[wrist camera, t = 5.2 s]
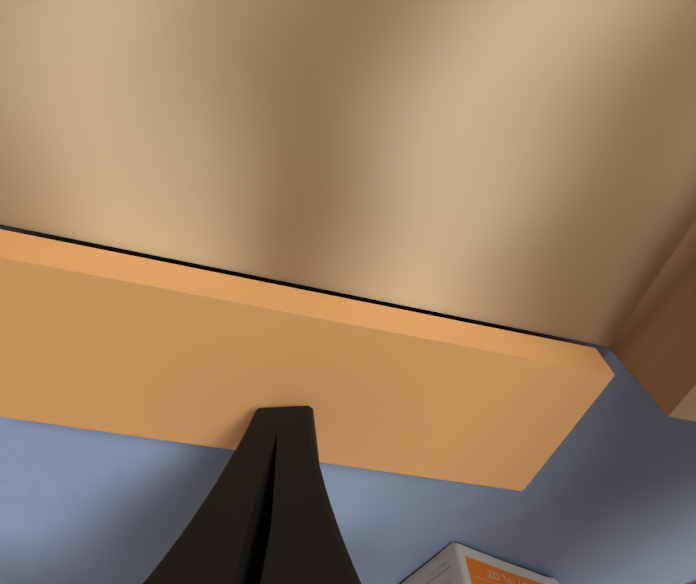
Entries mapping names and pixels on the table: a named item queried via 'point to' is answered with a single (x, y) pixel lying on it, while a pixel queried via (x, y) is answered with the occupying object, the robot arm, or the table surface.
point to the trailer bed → (380, 153)
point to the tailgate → (278, 366)
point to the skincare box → (472, 569)
